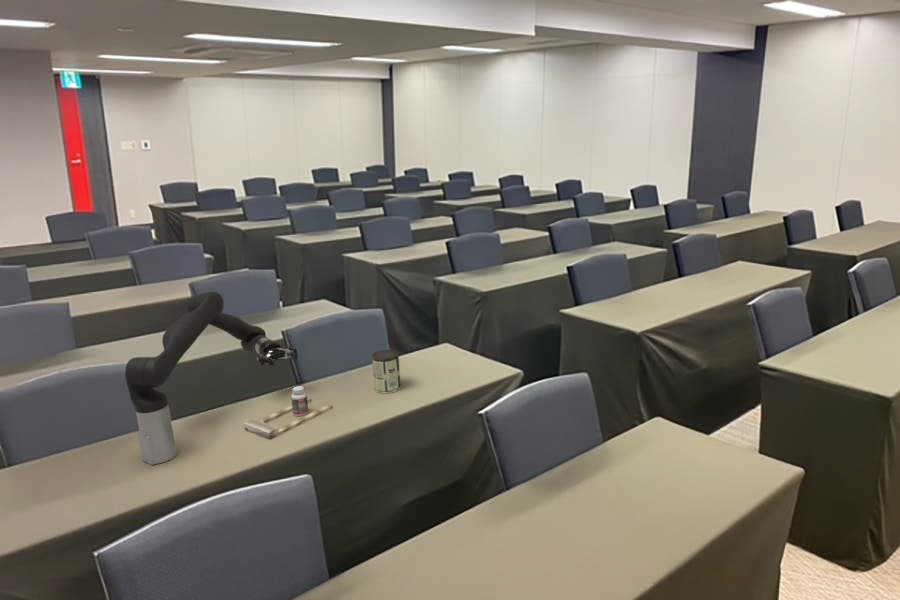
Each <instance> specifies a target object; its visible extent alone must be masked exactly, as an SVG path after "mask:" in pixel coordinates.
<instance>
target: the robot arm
mask: <svg viewBox="0 0 900 600" xmlns="http://www.w3.org/2000/svg"><path fill="white" fill-rule="evenodd" d="M186 305H187V306H186V308H187V311H188V313H186V314H184V315H183V316H181V317H179V318H178V319H177V320H175V321H174V322H173V323H171V325H170V326H169V327H168V328H167V329H166V330H165V331H164V333H163V335H162V345H163V351H162V352H161V353H159V354H158V355H157V356H152V357H151V356H146V357H145V356H144V357H143V356H140V357H138V356H137V357H133V358H130V359H129V360H128V362H127V363H126V365H125V369H124V370H125V371H124V372H125V373H124V374H125V376H124V377H125V382H126V386H127V389H128V393H129V397H130V400H131V403H132V405H133V406H134V410H135V413H136V418H137V424H138V430H139V431H138V432H137V440H138V445H139V449H140V455H141V459H142V461H143V462H145V463H147V464H149V465H151V466H155V465H158V464H162V463H166V462H168V460H169V461H170V460H172V459H174V458H175V457H176V456H177V455H178V453H177V452H178V450H177V445H176V442H175V436H174V435H175V434H174V429H173V424H172V423H173V422H172V418H171V412H170V407H169V406H170V405H169V402H168V397H167V395H166V394H165V393H163V392H161V391H159V390H156V389H155V388H160V387H161V386H163V385H165V383H166V382H167V380H168V379H169V377H170V375H172V372H173V371H174V369H175V367H176V366H177V365H178V363H179V361H181V358H182V357H183V356H184V355H185V354H186V352H187V351H188V350H189V349H190V348H191V347H192V345H193V344H194V343H195V342H196V340H197V339H198V338H199V336H200V335H201V334H202V333H203V332H204V331H205V330H206V328H207V327H208V326H212V327H214V328H215V327H216V328H217V329H220V330H221V331H224V332H226V333H227V334H228V335H231V336H232V337H234V338H236V339H237V340H239V341H240V346H241V347H242V349H244V351H247V352H249V353H257V354H256V355H255V357H256V362H257V363H259V365H261V366H264V365H265V364H266V365H269V366H272V367H274V366H275V362H276V361H277V360H278V359H279V360H281V359H288V358H290V359H291V360H293V361H297V359H298V356H299V355H298V349H297V348H295V347H293V346H291V345H289V346H287V348H283V347H281V345H280V344H279V343H278V342H276V341H275V340H273V339H271V338H268V337H267V336H266V331H265V330H264V329H263V328H262V327H260V326H257V325H254V324H253V325H252V324H250V323H249V324H248V323H247V322H246V321H244V320H242V319H241V318H239V317H237V316H234V315H231V314H228V313H225V312H224V313H223V310H224V305H225V304H224V298H223V296H222V295H221V294H220V293H219V292H217V291H206V292H202V293H199V294H196V295H193V296H191V297H189V298H188V300H187V304H186ZM154 464H155V465H154Z"/></svg>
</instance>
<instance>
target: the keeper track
mask: <svg viewBox="0 0 900 600" xmlns="http://www.w3.org/2000/svg"><path fill="white" fill-rule="evenodd" d="M311 402H312V399H311V398H309V397H307V403H308V404H309V403H311ZM331 408H332V409H333V405H331V404H325V405H324V406H323V407H321V408H319V409H316V410H314V411H313V412H312V411H311V413H307V414H306V415H304V416H301V417H300V418H298V419H297V420H294V421H292V422H290V423H288V424H286V425H284V426H282V427H280V428H279V427H278V426H274V425H271V424H269V422H272V421H273V420H276V419H277V418H280V417H281V416H284V415H286V414H289V413H290V412H293V407H292V404H291V405H288V406H287V407H285V408H282V409H281V410H279V411H277V412H274V413H273V414H270V415H268V416H266V417H264V418H262V419H256V418H252V419H250V420H248V421H246V422H244V423H243V427H244V431H246V432H249V433H252V434H254V435H257V436H259V437H262V438H264V439H267V440H269V441H270V440H272V439H274V438H276V437H278V436H280V435H282V434H284V433H286V432H289V431H291V430H292V429H294V428H295V427H298V426H300V425H302V424H304V423H306V422H308V421H310V420H312V419H314V418H316V417H318V416H320V415H322V414H324V413H326V412H328V411H329V409H330V410H332V409H331ZM327 410H328V411H327ZM325 411H326V412H325ZM323 412H324V413H323ZM321 413H322V414H321ZM319 414H320V415H319ZM315 416H316V417H315ZM305 421H306V422H305ZM303 422H304V423H303ZM301 423H302V424H301ZM283 432H284V433H283ZM281 433H282V434H281ZM279 434H280V435H279ZM277 435H278V436H277Z"/></svg>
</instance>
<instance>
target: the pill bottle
mask: <svg viewBox="0 0 900 600" xmlns="http://www.w3.org/2000/svg"><path fill="white" fill-rule="evenodd" d="M290 397H291V405H292V407H293V410H292V413H293V414H292V415H294V416H295V417H304V416H306V415H308V414H309V405H308V404H309V403H307V398H308V396H307V392H305V387H304V386H302V385H301V386H300V385H299V386H295V387H293V388H292V394H291V396H290Z"/></svg>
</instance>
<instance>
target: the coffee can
mask: <svg viewBox="0 0 900 600" xmlns="http://www.w3.org/2000/svg"><path fill="white" fill-rule="evenodd" d="M371 359H372V361H371V362H372V370H373V372H372V373H373V381H374V391H375V393H378V392H379V394H384V393H386V394H392V392H393V393H396V392H398V391H399V390H401V389H402V386H401V372H400V359H399V351H397V350H394V349H382V350H378V351H375V352H373V353H372V354H371ZM400 388H401V389H400Z"/></svg>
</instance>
